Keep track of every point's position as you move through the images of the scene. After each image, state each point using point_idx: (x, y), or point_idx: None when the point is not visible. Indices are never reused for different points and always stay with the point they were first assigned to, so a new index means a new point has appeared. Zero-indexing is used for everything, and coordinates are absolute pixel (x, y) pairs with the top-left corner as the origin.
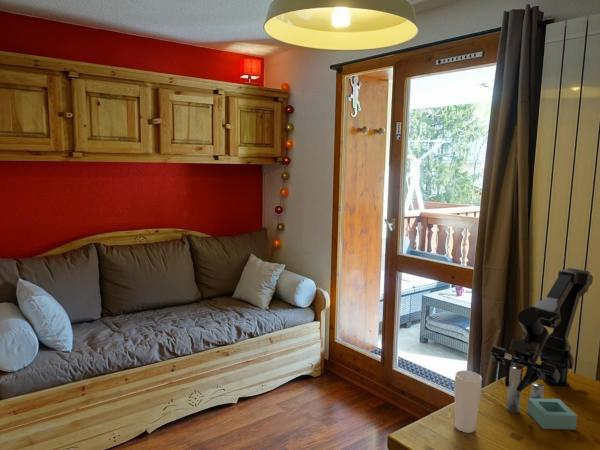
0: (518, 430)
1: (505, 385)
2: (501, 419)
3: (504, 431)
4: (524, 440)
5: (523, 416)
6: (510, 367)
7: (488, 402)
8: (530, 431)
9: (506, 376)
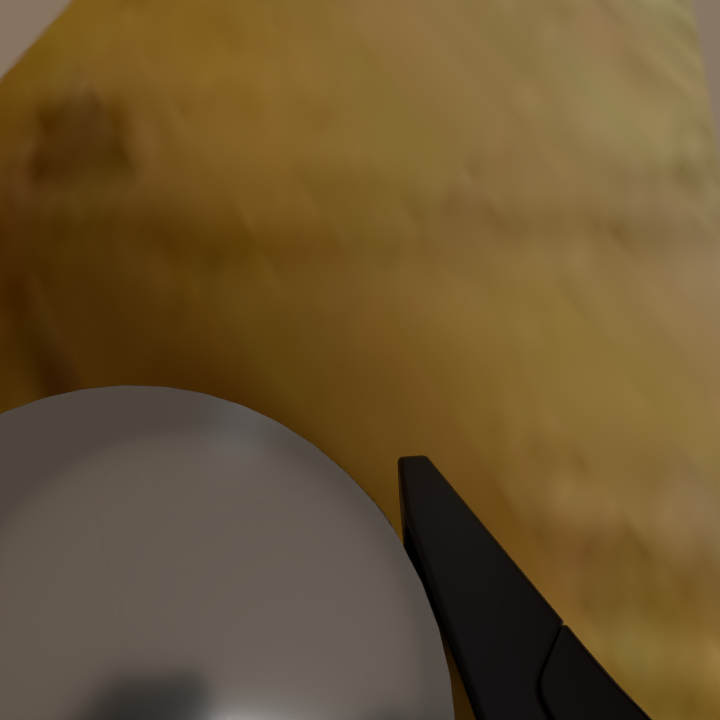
0: (106, 238)
1: (414, 456)
2: (300, 277)
3: (179, 125)
4: (6, 143)
5: None
6: (329, 474)
7: (588, 479)
8: (24, 313)
9: (489, 567)
